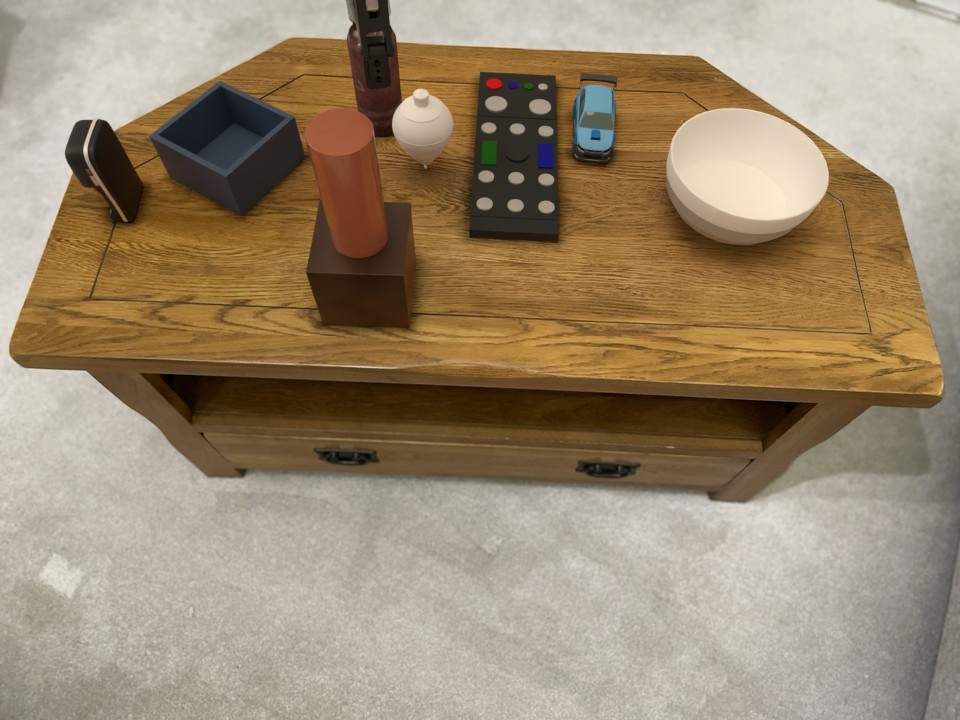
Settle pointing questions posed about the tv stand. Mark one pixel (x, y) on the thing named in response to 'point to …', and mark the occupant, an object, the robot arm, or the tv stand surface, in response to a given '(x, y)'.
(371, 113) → the can
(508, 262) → the tv stand surface
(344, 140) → the orange cylinder rod
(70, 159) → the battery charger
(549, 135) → the remote control
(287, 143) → the tub
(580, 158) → the toy car
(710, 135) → the bowl
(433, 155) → the spinning top
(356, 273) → the stand
